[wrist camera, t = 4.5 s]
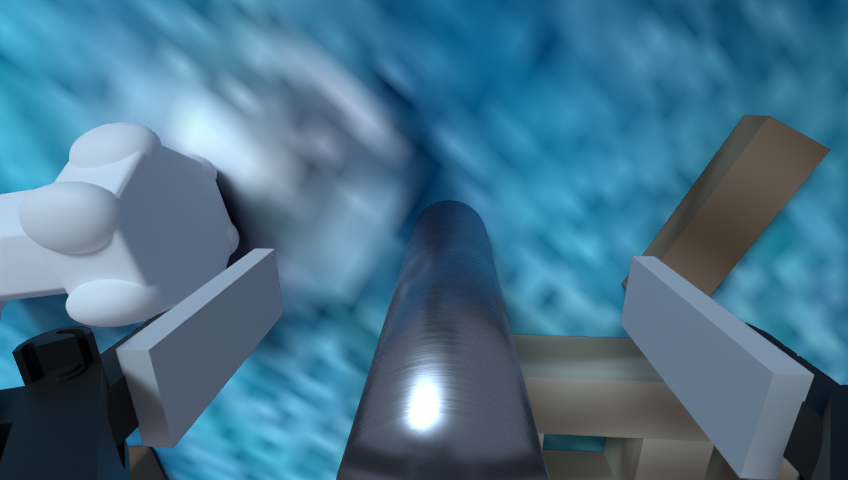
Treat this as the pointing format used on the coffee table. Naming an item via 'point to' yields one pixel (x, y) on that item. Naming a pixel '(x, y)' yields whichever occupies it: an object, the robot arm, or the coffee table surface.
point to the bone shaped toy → (117, 229)
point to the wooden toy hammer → (144, 464)
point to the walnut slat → (735, 200)
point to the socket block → (615, 413)
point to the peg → (445, 368)
